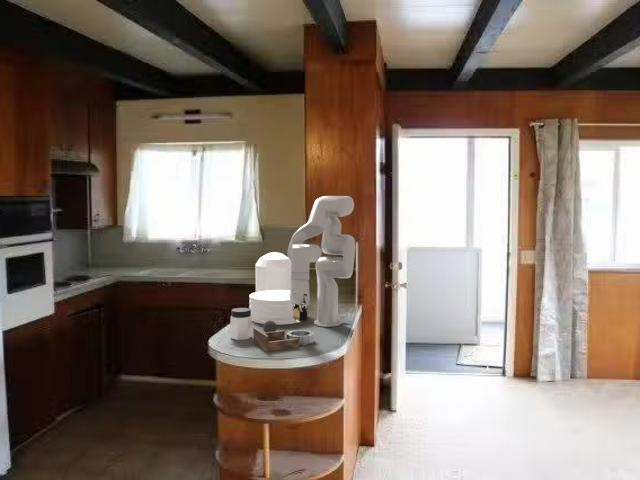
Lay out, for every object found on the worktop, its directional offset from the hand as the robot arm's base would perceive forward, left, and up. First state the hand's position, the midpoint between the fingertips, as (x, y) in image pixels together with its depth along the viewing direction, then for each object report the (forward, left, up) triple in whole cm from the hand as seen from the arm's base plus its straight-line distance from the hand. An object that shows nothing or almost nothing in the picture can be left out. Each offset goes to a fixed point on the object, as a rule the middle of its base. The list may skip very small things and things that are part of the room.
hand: (300, 319), depth 229 cm
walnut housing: (+11, 0, -10) cm, 14 cm away
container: (-21, -83, -10) cm, 86 cm away
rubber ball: (+7, -17, -7) cm, 19 cm away
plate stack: (-8, -45, -10) cm, 47 cm away
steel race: (0, 0, -10) cm, 10 cm away
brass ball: (0, 0, +2) cm, 2 cm away
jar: (+20, -17, -10) cm, 28 cm away
